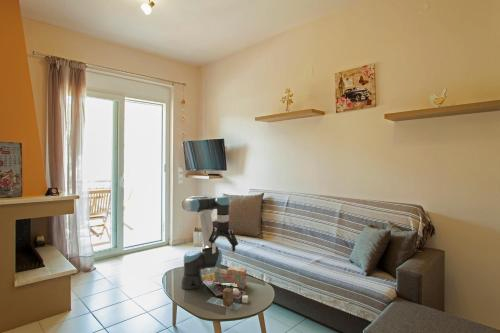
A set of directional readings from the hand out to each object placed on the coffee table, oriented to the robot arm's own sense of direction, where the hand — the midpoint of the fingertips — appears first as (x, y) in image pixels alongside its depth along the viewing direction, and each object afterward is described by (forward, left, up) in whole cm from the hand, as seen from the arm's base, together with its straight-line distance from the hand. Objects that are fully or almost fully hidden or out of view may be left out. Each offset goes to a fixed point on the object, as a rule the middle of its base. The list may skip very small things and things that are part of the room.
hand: (223, 254), depth 182 cm
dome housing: (+6, +5, -29) cm, 30 cm away
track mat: (+3, -4, -29) cm, 29 cm away
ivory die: (+14, +4, -29) cm, 32 cm away
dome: (+6, +5, -28) cm, 29 cm away
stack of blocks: (-6, +20, -29) cm, 36 cm away
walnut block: (+6, -4, -28) cm, 29 cm away
